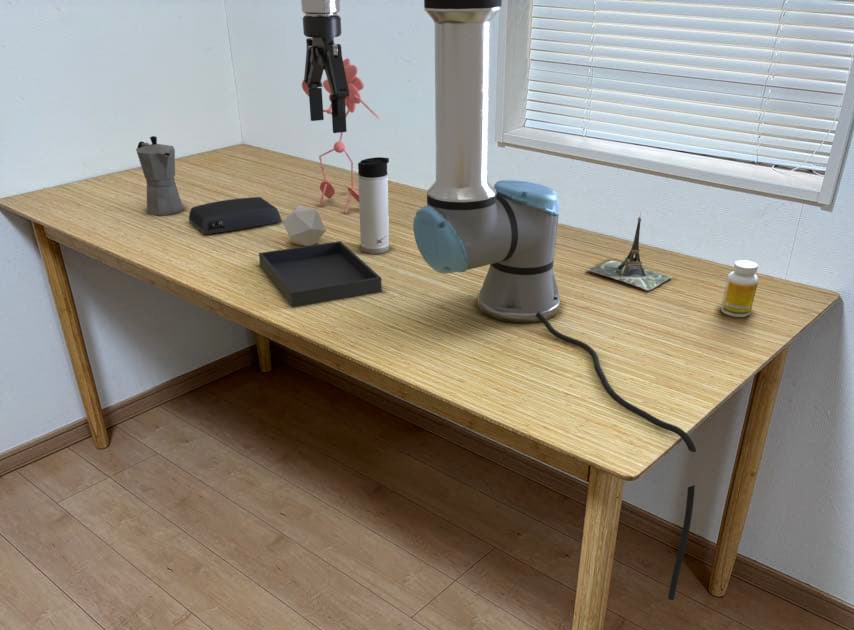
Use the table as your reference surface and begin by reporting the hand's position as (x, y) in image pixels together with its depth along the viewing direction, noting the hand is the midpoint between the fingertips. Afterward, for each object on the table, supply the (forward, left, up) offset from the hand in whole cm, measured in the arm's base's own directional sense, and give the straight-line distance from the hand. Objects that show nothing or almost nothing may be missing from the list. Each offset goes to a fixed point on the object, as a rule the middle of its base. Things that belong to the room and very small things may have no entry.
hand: (328, 126), depth 169 cm
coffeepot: (+41, +31, -26) cm, 57 cm away
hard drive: (+23, +17, -26) cm, 38 cm away
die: (+2, +6, -26) cm, 26 cm away
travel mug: (-8, -7, -26) cm, 28 cm away
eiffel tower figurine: (-44, -49, -26) cm, 71 cm away
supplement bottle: (-67, -56, -26) cm, 91 cm away
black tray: (-19, +10, -25) cm, 34 cm away
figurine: (+26, -14, -26) cm, 39 cm away
